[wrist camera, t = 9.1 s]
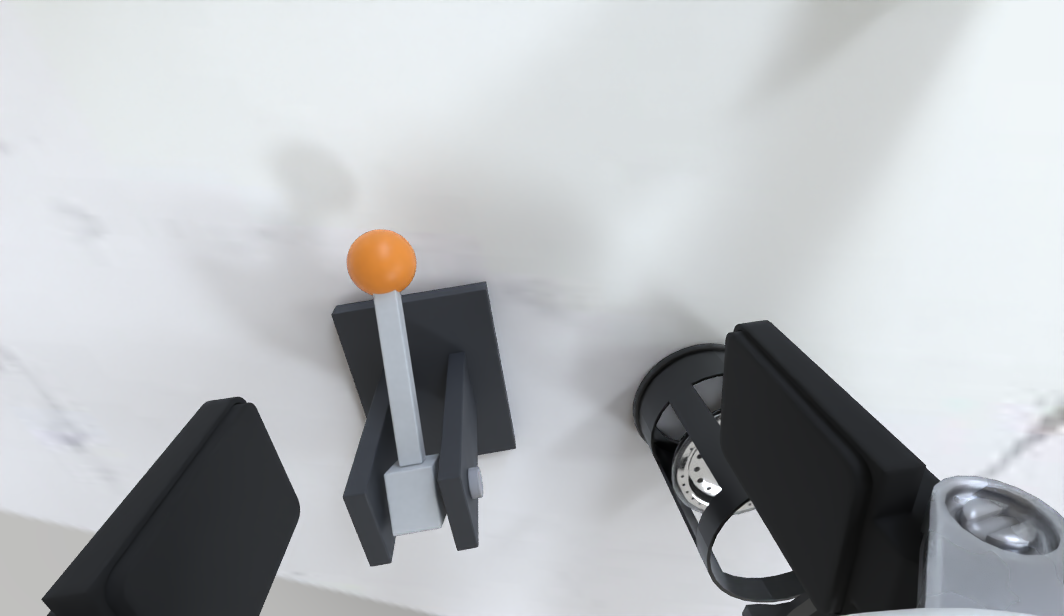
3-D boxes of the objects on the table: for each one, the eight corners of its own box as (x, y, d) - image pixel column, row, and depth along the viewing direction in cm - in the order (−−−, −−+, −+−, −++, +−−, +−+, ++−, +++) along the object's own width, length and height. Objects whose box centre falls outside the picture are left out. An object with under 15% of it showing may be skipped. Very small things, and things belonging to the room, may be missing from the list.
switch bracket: (336, 305, 30) (260, 434, 19) (485, 281, 30) (492, 394, 20) (387, 459, 35) (349, 627, 24) (514, 437, 35) (532, 593, 25)
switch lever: (354, 241, 26) (331, 229, 22) (416, 231, 26) (402, 217, 23) (396, 516, 25) (378, 543, 22) (459, 505, 25) (451, 530, 22)
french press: (599, 398, 35) (787, 879, 14) (709, 310, 33) (1118, 721, 12) (694, 483, 39) (942, 944, 18) (795, 411, 37) (1203, 838, 16)
